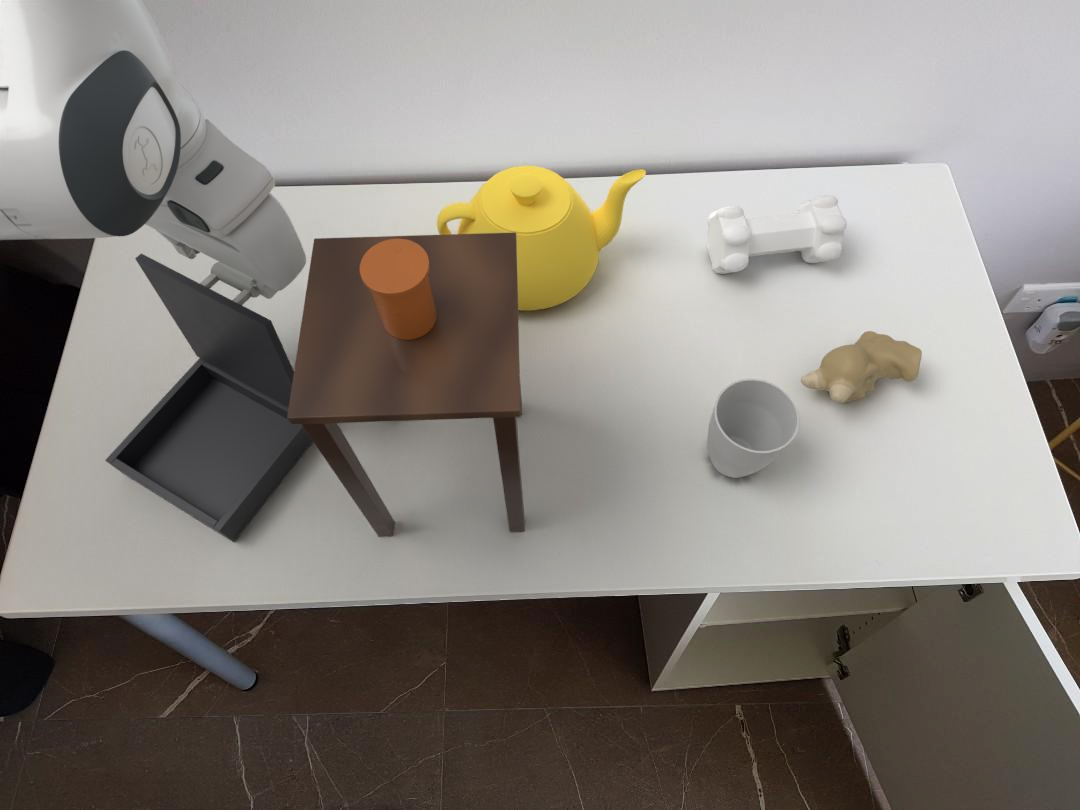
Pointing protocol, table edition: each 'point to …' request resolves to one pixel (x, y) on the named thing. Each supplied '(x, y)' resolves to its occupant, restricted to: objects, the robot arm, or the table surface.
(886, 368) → the tan lumpy rounded piece
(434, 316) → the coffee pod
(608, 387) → the table surface
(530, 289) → the teapot
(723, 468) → the cup
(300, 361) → the shelf top
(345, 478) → the shelf legs
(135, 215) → the robot arm
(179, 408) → the hinged lid box
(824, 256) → the bone shaped toy
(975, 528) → the table surface
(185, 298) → the lid
